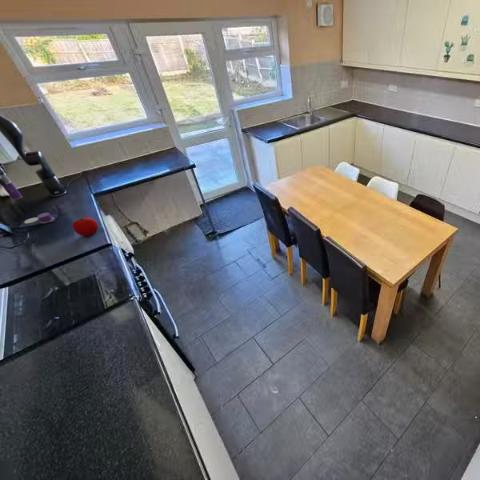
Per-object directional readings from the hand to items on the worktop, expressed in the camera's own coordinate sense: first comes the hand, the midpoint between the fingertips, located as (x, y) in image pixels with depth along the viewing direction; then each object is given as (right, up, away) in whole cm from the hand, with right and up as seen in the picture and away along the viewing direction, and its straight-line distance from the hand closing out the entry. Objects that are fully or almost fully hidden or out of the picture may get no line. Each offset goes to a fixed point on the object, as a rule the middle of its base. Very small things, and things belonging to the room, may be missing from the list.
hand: (5, 182), depth 166 cm
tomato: (+50, -31, +2) cm, 59 cm away
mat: (+5, -22, +15) cm, 27 cm away
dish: (+11, -22, +15) cm, 28 cm away
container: (0, -8, +6) cm, 11 cm away
